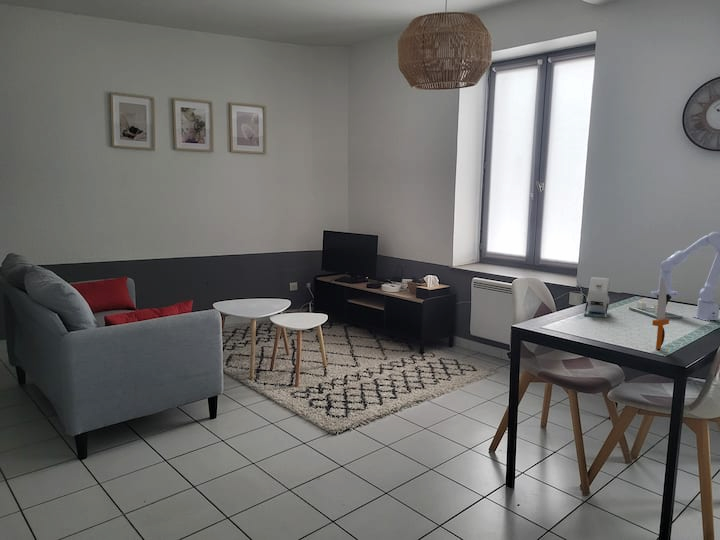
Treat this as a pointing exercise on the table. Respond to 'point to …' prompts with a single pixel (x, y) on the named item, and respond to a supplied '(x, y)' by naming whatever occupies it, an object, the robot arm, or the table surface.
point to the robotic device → (598, 297)
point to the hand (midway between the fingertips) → (662, 308)
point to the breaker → (641, 305)
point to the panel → (650, 312)
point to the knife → (661, 315)
